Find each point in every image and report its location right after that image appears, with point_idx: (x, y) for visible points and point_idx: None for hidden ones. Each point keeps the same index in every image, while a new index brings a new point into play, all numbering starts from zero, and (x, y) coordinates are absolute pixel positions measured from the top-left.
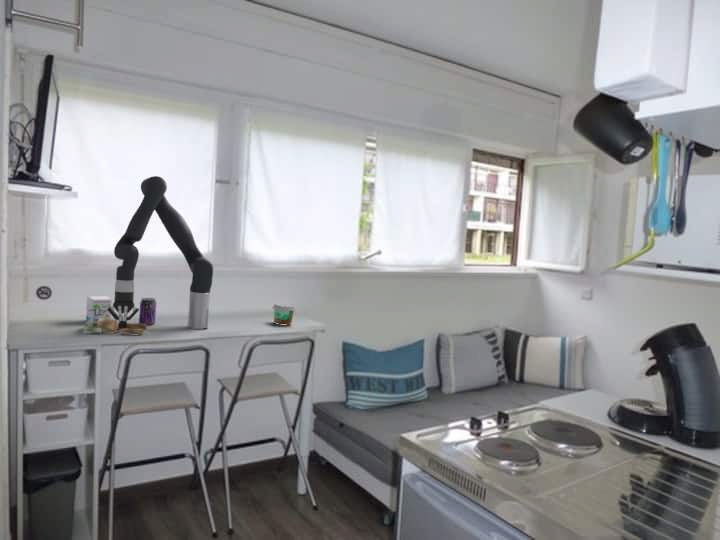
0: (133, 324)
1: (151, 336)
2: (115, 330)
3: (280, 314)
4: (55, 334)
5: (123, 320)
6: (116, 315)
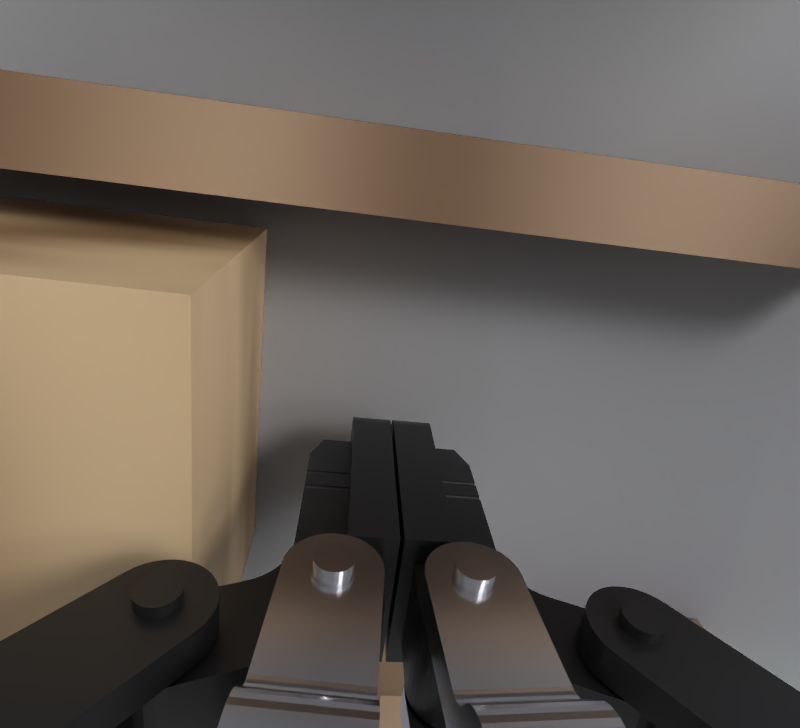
0: (658, 245)
1: (793, 681)
2: (250, 485)
3: None
4: None
5: (408, 694)
6: (106, 704)
